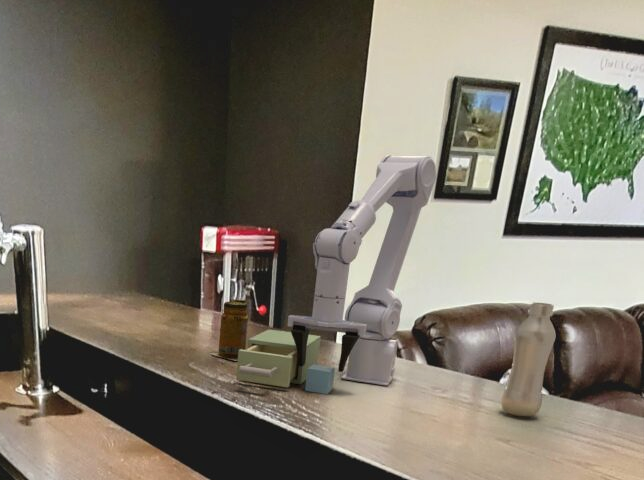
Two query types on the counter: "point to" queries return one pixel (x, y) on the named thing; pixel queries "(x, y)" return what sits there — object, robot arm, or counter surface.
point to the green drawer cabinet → (287, 341)
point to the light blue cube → (319, 379)
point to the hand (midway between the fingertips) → (321, 368)
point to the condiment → (232, 330)
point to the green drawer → (268, 365)
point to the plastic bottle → (529, 361)
